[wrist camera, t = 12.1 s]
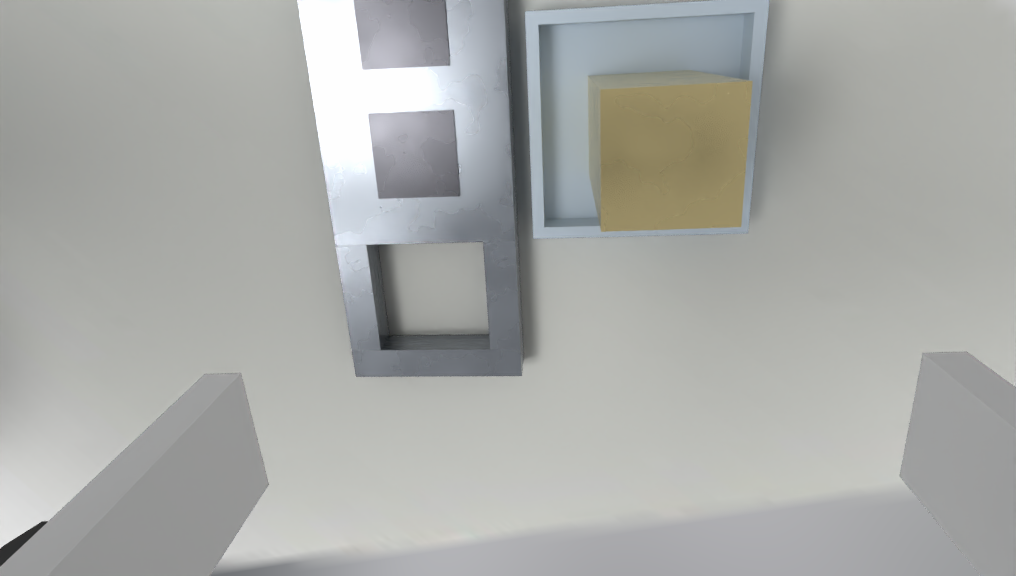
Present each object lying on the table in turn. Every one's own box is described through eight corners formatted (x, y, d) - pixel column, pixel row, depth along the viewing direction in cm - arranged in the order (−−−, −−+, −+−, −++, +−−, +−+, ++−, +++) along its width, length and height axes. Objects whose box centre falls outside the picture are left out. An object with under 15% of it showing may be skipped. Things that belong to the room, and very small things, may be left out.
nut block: (588, 174, 33) (600, 231, 23) (587, 75, 31) (600, 89, 21) (685, 170, 33) (741, 227, 22) (689, 69, 31) (752, 81, 21)
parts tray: (535, 226, 35) (533, 238, 33) (527, 14, 31) (524, 11, 29) (735, 220, 34) (748, 233, 32) (753, 0, 30) (769, -3, 28)
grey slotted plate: (365, 360, 39) (355, 377, 37) (308, -28, 31) (291, -33, 29) (523, 360, 38) (521, 376, 36) (505, -41, 30) (501, -47, 28)
